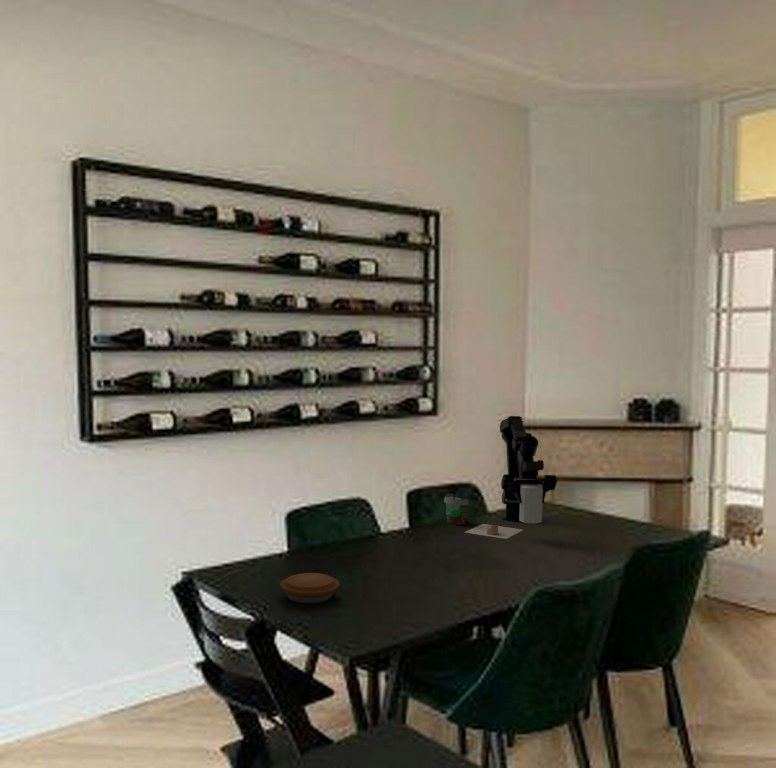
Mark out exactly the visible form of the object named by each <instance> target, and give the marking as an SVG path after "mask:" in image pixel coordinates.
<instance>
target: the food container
mask: <svg viewBox="0 0 776 768" xmlns="http://www.w3.org/2000/svg"><path fill="white" fill-rule="evenodd" d="M443 503H445V515H446V524H447V523H448V524H449V525H454V526H467V520H468V508H469V505H470V503H469V499H466V498H465V499H464V498H461V497H456V496H454V493H450V494H449V493H448V494H446V495H445V497H444V500H443Z"/></svg>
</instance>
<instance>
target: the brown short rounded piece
mask: <svg viewBox="0 0 776 768" xmlns="http://www.w3.org/2000/svg"><path fill="white" fill-rule="evenodd" d="M488 525H489V526H487V534H489V535H497V534H498V526H499V525H495V524H494V525H493V524H488Z"/></svg>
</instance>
